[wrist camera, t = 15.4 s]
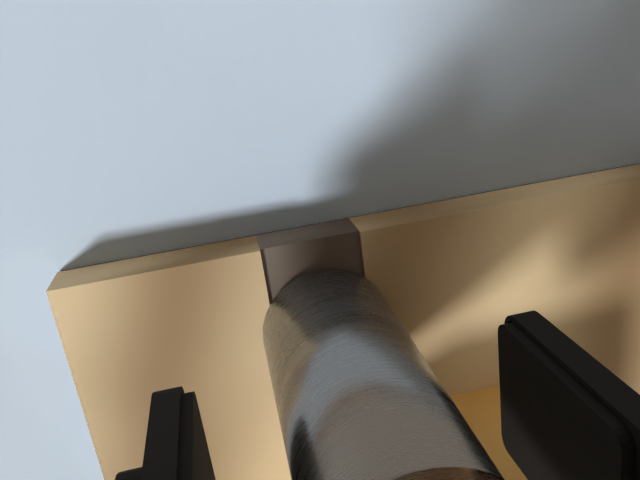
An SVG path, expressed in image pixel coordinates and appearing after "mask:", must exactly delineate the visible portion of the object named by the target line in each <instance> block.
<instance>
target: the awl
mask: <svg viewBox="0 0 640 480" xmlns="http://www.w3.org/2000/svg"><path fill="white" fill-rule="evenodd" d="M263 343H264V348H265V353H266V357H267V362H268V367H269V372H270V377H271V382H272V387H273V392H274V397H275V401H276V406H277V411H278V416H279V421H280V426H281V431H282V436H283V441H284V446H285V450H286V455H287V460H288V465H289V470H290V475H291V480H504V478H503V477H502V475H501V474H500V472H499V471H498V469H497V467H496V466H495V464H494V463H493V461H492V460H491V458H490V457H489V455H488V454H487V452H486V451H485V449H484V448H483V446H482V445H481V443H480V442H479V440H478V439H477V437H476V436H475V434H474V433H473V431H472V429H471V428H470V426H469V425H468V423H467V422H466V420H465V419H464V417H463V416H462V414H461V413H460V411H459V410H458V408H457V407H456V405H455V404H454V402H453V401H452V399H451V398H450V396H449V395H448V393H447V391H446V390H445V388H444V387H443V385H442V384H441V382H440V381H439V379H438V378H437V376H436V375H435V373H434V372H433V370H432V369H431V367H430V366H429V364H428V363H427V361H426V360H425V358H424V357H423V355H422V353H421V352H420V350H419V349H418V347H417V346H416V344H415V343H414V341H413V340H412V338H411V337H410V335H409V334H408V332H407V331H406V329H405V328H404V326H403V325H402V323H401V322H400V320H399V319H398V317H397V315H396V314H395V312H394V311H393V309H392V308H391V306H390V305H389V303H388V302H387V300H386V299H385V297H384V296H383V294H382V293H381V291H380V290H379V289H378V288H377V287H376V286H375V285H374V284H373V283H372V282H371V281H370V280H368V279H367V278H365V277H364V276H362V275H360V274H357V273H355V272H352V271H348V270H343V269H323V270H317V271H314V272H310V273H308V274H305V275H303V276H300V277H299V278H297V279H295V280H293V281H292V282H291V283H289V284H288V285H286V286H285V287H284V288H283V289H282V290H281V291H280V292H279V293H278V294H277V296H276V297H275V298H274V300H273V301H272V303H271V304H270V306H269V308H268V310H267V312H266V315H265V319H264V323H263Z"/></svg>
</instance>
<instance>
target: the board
mask: <svg viewBox="0 0 640 480" xmlns="http://www.w3.org/2000/svg"><path fill="white" fill-rule="evenodd" d="M323 269H343V270H348V271H352V272H355V273H357V274H360V275H362V276H364V277H365V278H367V279H368V280H370V281H371V282H372V283H373V284H374V285H375V286H376V287H377V288H378V289H379V290H380V291H381V293H382V294H383V296H384V297H385V299H386V300H387V302H388V303H389V305H390V306H391V308H392V309H393V311H394V312H395V314H396V315H397V317H398V319H399V320H400V322H401V323H402V325H403V326H404V328H405V329H406V331H407V332H408V334H409V335H410V337H411V338H412V340H413V341H414V343H415V344H416V346H417V347H418V349H419V350H420V352H421V353H422V355H423V357H424V358H425V360H426V361H427V363H428V364H429V366H430V367H431V369H432V370H433V372H434V373H435V375H436V376H437V378H438V379H439V381H440V382H441V384H442V385H443V387H444V388H445V390H446V391H447V393H448V395H449V396H452V395H457V394H461V393H466V392H470V391H475V390H479V389H484V388H488V387H493V386H497V385H500V381H499V355H498V327H499V325H501V324H504V322H505V319H506V317H507V316H509V315H514V314H519V313H523V312H528V311H534V310H535V311H537V312H538V313H540V314H541V315H542V316H543V317H544V318H546V319H547V320H548V321H549V322H551V323H552V324H553V325H554V326H556V327H557V328H558V329H559V330H560V331H562V332H563V333H564V334H565V335H567V336H568V337H569V338H570V339H572V340H573V341H574V342H575V343H577V344H578V345H579V346H580V347H581V348H583V349H584V350H585V351H586V352H588V353H589V354H590V355H591V356H593V357H594V358H595V359H596V360H597V361H599V362H600V363H601V364H602V365H604V366H605V367H606V368H607V369H609V370H610V371H611V372H612V373H613V374H615V375H616V376H617V377H618V378H620V379H621V380H622V381H623V382H625V383H626V384H627V385H628V386H629V387H631V388H632V389H633V390H634V391H636V392H637V393H638V394H639V395H640V164H636V165H631V166H626V167H620V168H615V169H610V170H604V171H599V172H593V173H588V174H583V175H577V176H572V177H566V178H561V179H556V180H550V181H545V182H540V183H534V184H529V185H523V186H518V187H513V188H507V189H502V190H497V191H491V192H486V193H480V194H475V195H470V196H464V197H459V198H454V199H448V200H443V201H437V202H432V203H427V204H421V205H416V206H410V207H405V208H400V209H394V210H389V211H384V212H378V213H373V214H367V215H362V216H357V217H351V218H346V219H341V220H335V221H330V222H324V223H319V224H314V225H308V226H303V227H298V228H292V229H287V230H281V231H276V232H271V233H265V234H260V235H254V236H249V237H244V238H238V239H233V240H228V241H222V242H217V243H211V244H206V245H201V246H195V247H190V248H185V249H179V250H174V251H168V252H163V253H158V254H152V255H147V256H142V257H136V258H131V259H125V260H120V261H115V262H109V263H104V264H98V265H93V266H88V267H82V268H77V269H72V270H66V271H61V272H57V274H56V276H55V277H54V279H53V281H52V282H51V284H50V286H49V287H48V289H47V291H46V293H47V296H48V299H49V303H50V306H51V309H52V312H53V315H54V319H55V322H56V325H57V328H58V331H59V335H60V338H61V341H62V344H63V348H64V351H65V354H66V357H67V360H68V364H69V367H70V370H71V373H72V377H73V380H74V383H75V386H76V389H77V393H78V396H79V399H80V402H81V406H82V409H83V412H84V415H85V418H86V422H87V425H88V428H89V431H90V435H91V438H92V441H93V444H94V447H95V451H96V454H97V457H98V460H99V463H100V467H101V470H102V473H103V476H104V480H115V477H116V475H117V474H118V472H122V471H126V470H130V469H135V468H139V467H142V465H143V457H144V450H145V442H146V434H147V427H148V419H149V411H150V404H151V396H152V393H153V392H156V391H161V390H166V389H170V388H175V387H180V386H182V387H183V390H184V393H188V392H193V391H194V392H195V394H196V398H197V402H198V407H199V411H200V415H201V419H202V424H203V428H204V432H205V436H206V441H207V445H208V449H209V453H210V458H211V462H212V466H213V470H214V475H215V479H216V480H291V475H290V470H289V465H288V460H287V455H286V450H285V446H284V441H283V436H282V431H281V426H280V421H279V416H278V411H277V406H276V401H275V397H274V392H273V387H272V382H271V377H270V372H269V367H268V362H267V357H266V353H265V348H264V343H263V323H264V319H265V315H266V312H267V310H268V308H269V306H270V304H271V303H272V301H273V300H274V298H275V297H276V296H277V294H278V293H279V292H280V291H281V290H282V289H283V288H284V287H285V286H286V285H288V284H289V283H291V282H292V281H293V280H295V279H297V278H299V277H300V276H303V275H305V274H308V273H310V272H314V271H317V270H323Z"/></svg>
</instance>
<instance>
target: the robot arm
mask: <svg viewBox="0 0 640 480" xmlns="http://www.w3.org/2000/svg"><path fill="white" fill-rule="evenodd" d="M498 355H499V381H500V407H501V432H502V439H503V443H504V446H505V448H506V450H507V452H508V454H509V455H510V456H511V458H512V459H513V460H514V462H515V463H516V464H517V466H518V467H519V468H520V470H521V471H522V472H523V474H524V475H525V477H526V478H527V479H528V480H640V395H639V394H638V393H637V392H636V391H634V390H633V389H632V388H631V387H629V386H628V385H627V384H626V383H625V382H623V381H622V380H621V379H620V378H618V377H617V376H616V375H615V374H613V373H612V372H611V371H610V370H609V369H607V368H606V367H605V366H604V365H602V364H601V363H600V362H599V361H597V360H596V359H595V358H594V357H593V356H591V355H590V354H589V353H588V352H586V351H585V350H584V349H583V348H581V347H580V346H579V345H578V344H577V343H575V342H574V341H573V340H572V339H570V338H569V337H568V336H567V335H565V334H564V333H563V332H562V331H560V330H559V329H558V328H557V327H556V326H554V325H553V324H552V323H551V322H549V321H548V320H547V319H546V318H544V317H543V316H542V315H541V314H540V313H538V312H537V311H535V310H534V311H528V312H523V313H519V314H514V315H509V316H507V317H506V319H505V322H504V324H501V325H499V327H498ZM115 480H216V479H215V475H214V470H213V466H212V462H211V458H210V453H209V449H208V445H207V441H206V436H205V432H204V428H203V424H202V419H201V415H200V411H199V407H198V402H197V398H196V394H195V392H194V391H193V392H188V393H184V390H183V387H182V386H180V387H175V388H170V389H166V390H161V391H156V392H153V393H152V396H151V404H150V411H149V419H148V427H147V434H146V442H145V450H144V457H143V465H142V467H139V468H135V469H130V470H126V471H122V472H118V474H117V475H116V477H115Z"/></svg>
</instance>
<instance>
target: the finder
mask: <svg viewBox="0 0 640 480" xmlns="http://www.w3.org/2000/svg"><path fill="white" fill-rule="evenodd" d="M450 398H451V399H452V401H453V402H454V404H455V405H456V407H457V408H458V410H459V411H460V413H461V414H462V416H463V417H464V419H465V420H466V422H467V423H468V425H469V426H470V428H471V429H472V431H473V433H474V434H475V436H476V437H477V439H478V440H479V442H480V443H481V445H482V446H483V448H484V449H485V451H486V452H487V454H488V455H489V457H490V458H491V460H492V461H493V463H494V464H495V466H496V467H497V469H498V471H499V472H500V474H501V475H502V477H503V478H504V480H528V479H527V478H526V477H525V475H524V474H523V472H522V471H521V470H520V468H519V467H518V466H517V464H516V463H515V462H514V460H513V459H512V458H511V456H510V455H509V454H508V452H507V450H506V448H505V446H504V443H503V439H502V432H501V407H500V385H497V386H493V387H488V388H484V389H479V390H475V391H470V392H466V393H461V394H457V395H452V396H450Z"/></svg>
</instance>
